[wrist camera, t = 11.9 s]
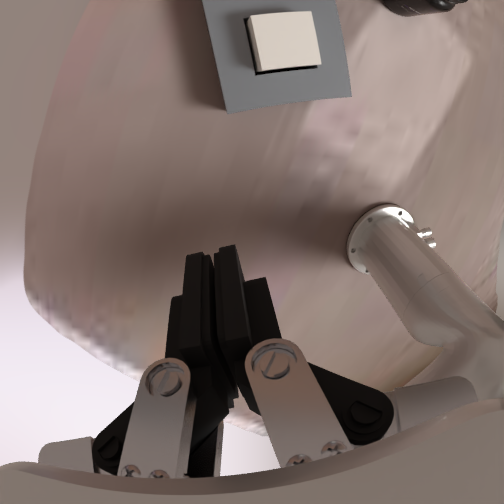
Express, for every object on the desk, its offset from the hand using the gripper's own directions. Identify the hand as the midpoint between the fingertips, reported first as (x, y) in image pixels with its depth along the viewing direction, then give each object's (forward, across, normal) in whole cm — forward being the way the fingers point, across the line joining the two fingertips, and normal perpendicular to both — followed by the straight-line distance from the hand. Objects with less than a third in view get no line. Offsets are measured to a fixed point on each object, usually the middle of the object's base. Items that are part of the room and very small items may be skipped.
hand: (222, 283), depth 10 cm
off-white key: (+26, -9, -10) cm, 29 cm away
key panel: (+27, -9, -17) cm, 33 cm away
